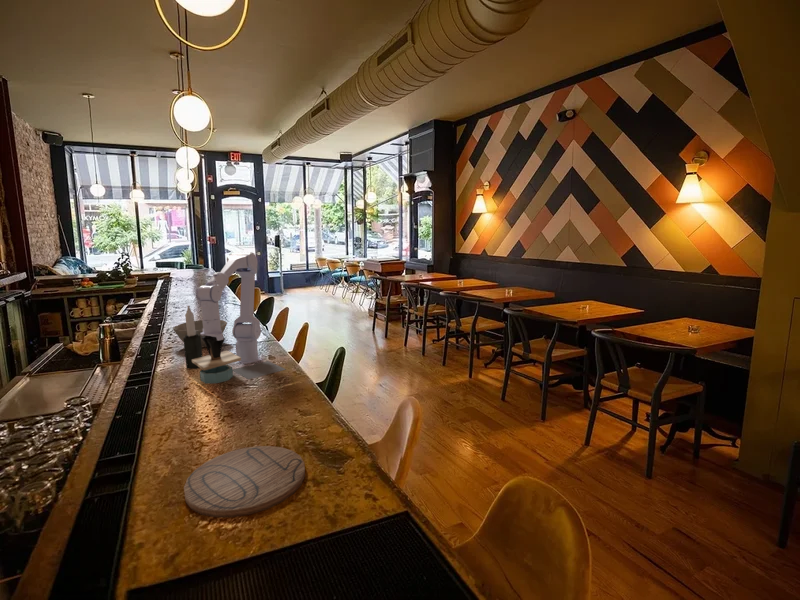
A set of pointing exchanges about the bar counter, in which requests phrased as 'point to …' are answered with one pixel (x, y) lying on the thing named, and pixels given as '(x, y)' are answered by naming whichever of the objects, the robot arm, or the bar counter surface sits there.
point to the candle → (191, 341)
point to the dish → (216, 374)
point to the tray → (258, 370)
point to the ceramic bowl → (182, 329)
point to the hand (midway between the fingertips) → (214, 356)
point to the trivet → (244, 481)
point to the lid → (215, 360)
